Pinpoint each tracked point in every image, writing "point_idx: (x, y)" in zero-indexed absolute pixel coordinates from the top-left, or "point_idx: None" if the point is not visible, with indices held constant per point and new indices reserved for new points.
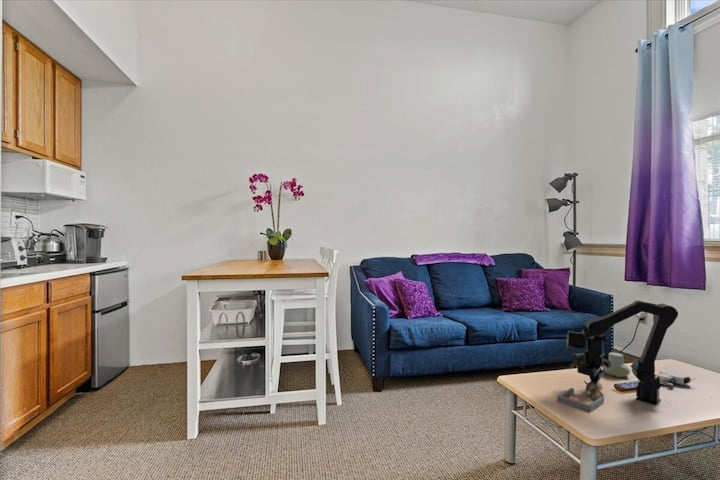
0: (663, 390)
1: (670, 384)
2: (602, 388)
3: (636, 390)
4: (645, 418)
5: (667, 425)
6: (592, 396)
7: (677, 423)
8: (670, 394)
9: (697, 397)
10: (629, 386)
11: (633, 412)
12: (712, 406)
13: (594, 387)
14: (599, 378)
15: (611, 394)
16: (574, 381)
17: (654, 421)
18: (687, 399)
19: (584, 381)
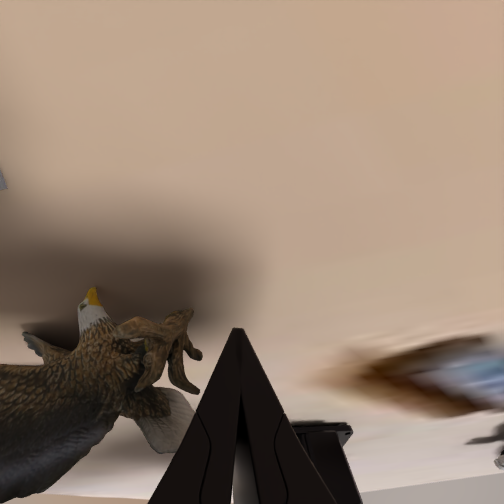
0: (455, 436)
1: (499, 466)
2: (188, 406)
3: (317, 471)
4: (84, 471)
5: (98, 495)
6: (43, 346)
7: (147, 497)
8: (418, 450)
9: (423, 473)
10: (462, 380)
11: (101, 449)
12: (364, 491)
13: (63, 415)
14: (233, 496)
15: (270, 365)
16: (437, 75)
17: (89, 482)
18: (391, 470)
19: (117, 332)
